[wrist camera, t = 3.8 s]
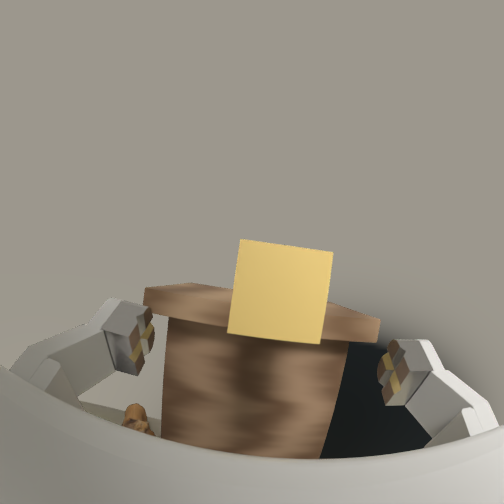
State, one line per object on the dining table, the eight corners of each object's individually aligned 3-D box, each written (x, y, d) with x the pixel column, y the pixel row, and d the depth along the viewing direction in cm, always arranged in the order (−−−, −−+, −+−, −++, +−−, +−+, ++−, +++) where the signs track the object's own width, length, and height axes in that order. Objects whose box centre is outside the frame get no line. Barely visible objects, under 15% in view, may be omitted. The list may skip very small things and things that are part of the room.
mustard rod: (226, 332, 9) (240, 238, 9) (247, 290, 33) (251, 265, 33) (319, 344, 9) (333, 252, 9) (273, 294, 33) (277, 268, 33)
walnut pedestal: (146, 527, 16) (145, 287, 18) (175, 462, 30) (191, 282, 32) (301, 547, 15) (380, 319, 17) (289, 478, 29) (329, 302, 31)
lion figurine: (164, 482, 25) (165, 431, 26) (123, 482, 22) (118, 430, 23) (145, 425, 38) (146, 380, 39) (114, 424, 35) (113, 377, 36)
